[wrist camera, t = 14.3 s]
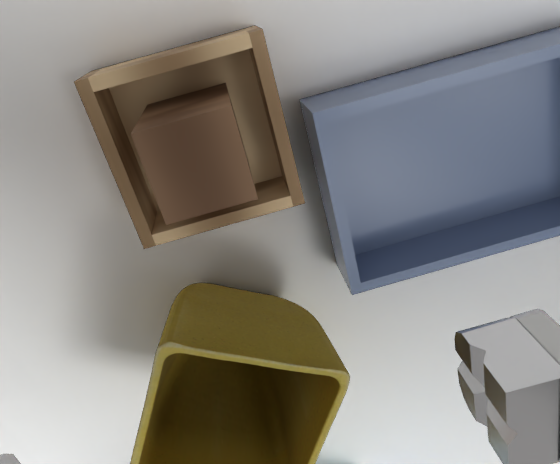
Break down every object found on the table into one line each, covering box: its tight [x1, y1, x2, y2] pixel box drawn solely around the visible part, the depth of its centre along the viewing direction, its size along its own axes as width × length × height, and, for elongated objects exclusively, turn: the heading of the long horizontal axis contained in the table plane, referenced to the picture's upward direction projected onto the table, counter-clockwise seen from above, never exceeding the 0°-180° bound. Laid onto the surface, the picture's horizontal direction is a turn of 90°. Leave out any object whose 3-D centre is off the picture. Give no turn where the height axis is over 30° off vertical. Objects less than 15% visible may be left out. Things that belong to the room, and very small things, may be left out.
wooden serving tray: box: [74, 26, 305, 249], centre depth 24 cm, size 8×8×4 cm
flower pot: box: [130, 283, 350, 464], centre depth 27 cm, size 9×9×9 cm
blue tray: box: [300, 27, 560, 295], centre depth 27 cm, size 15×10×4 cm
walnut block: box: [131, 83, 258, 225], centre depth 23 cm, size 4×4×6 cm
